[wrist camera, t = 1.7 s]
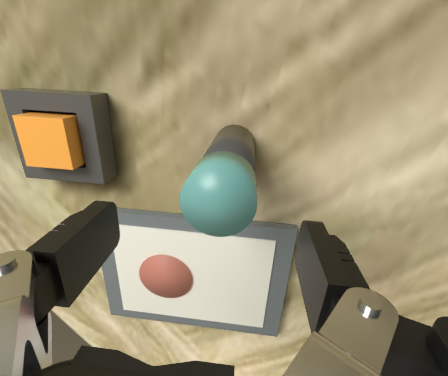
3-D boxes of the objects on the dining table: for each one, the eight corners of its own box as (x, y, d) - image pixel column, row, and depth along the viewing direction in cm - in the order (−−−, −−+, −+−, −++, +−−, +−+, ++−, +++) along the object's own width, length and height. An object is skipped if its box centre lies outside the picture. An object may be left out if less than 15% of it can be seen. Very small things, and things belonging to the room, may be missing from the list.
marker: (257, 125, 23) (260, 171, 12) (253, 167, 25) (252, 240, 14) (214, 122, 23) (178, 164, 13) (212, 163, 25) (180, 233, 14)
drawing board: (296, 225, 27) (298, 232, 26) (276, 329, 33) (277, 339, 32) (96, 205, 29) (88, 211, 27) (114, 308, 35) (109, 317, 34)
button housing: (106, 93, 23) (89, 95, 21) (117, 174, 27) (104, 184, 24) (25, 88, 24) (0, 89, 22) (45, 168, 27) (26, 177, 25)
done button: (77, 115, 23) (62, 118, 21) (86, 162, 24) (73, 170, 23) (31, 112, 23) (11, 115, 21) (43, 159, 25) (26, 166, 23)
